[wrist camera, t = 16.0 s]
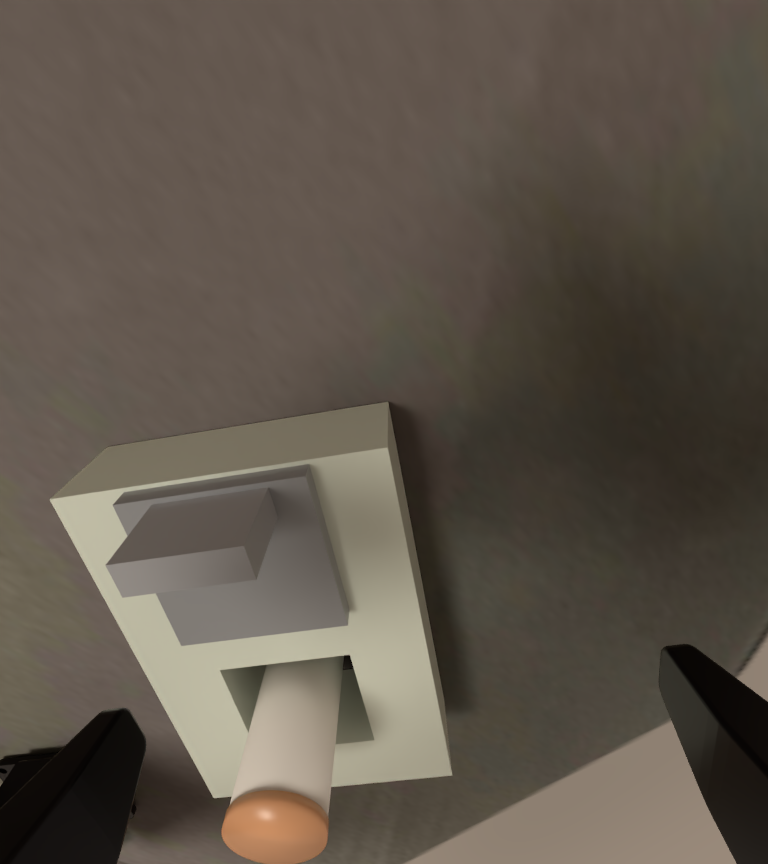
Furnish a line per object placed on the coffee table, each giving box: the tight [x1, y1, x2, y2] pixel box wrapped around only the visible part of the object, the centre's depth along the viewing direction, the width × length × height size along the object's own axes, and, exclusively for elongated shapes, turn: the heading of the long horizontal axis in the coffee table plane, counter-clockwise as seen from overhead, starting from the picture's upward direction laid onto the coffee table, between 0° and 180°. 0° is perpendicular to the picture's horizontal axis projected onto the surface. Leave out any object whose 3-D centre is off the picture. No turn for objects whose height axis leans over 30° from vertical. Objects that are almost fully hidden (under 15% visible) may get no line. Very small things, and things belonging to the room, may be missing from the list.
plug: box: [221, 656, 344, 864], centre depth 22 cm, size 4×4×9 cm
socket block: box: [50, 402, 452, 798], centre depth 23 cm, size 18×12×4 cm, turn 10°
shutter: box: [105, 464, 349, 646], centre depth 17 cm, size 7×7×4 cm
